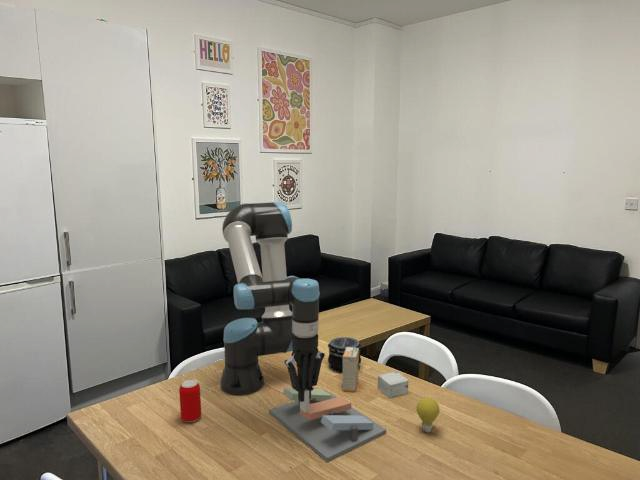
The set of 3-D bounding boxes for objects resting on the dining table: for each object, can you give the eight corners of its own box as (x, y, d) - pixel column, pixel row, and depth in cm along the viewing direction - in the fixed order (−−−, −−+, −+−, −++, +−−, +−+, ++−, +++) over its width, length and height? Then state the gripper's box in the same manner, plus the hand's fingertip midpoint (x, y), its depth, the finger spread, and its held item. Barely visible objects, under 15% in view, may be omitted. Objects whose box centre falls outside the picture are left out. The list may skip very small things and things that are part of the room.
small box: (389, 398, 161) (389, 384, 160) (377, 388, 168) (377, 374, 167) (408, 393, 164) (409, 380, 163) (395, 383, 171) (396, 370, 170)
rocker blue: (319, 423, 135) (322, 414, 135) (359, 423, 145) (361, 415, 145) (331, 432, 131) (334, 423, 131) (372, 431, 140) (374, 423, 140)
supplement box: (355, 392, 164) (356, 357, 162) (342, 391, 165) (342, 356, 163) (358, 381, 172) (359, 347, 170) (345, 380, 173) (345, 346, 171)
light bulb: (439, 425, 145) (441, 395, 143) (437, 438, 139) (438, 406, 137) (417, 421, 147) (418, 391, 145) (414, 433, 141) (415, 402, 139)
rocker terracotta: (298, 414, 143) (299, 406, 143) (340, 403, 153) (340, 396, 152) (309, 422, 139) (310, 414, 138) (351, 411, 148) (352, 403, 148)
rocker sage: (281, 394, 151) (283, 387, 151) (319, 396, 161) (321, 389, 161) (291, 402, 146) (293, 394, 146) (330, 403, 156) (332, 395, 156)
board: (269, 413, 152) (269, 398, 151) (324, 392, 165) (324, 378, 164) (327, 462, 128) (327, 444, 127) (386, 433, 141) (386, 417, 140)
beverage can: (205, 416, 150) (203, 380, 148) (192, 426, 145) (190, 389, 143) (190, 411, 153) (188, 376, 151) (176, 421, 147) (174, 385, 145)
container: (324, 361, 189) (324, 337, 187) (355, 358, 192) (355, 334, 190) (332, 376, 177) (332, 350, 175) (365, 372, 180) (366, 347, 178)
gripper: (293, 342, 130) (293, 422, 134) (331, 332, 137) (329, 409, 141) (279, 334, 135) (279, 411, 139) (315, 325, 143) (314, 398, 147)
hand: (304, 410), depth 140 cm, fingers closed
